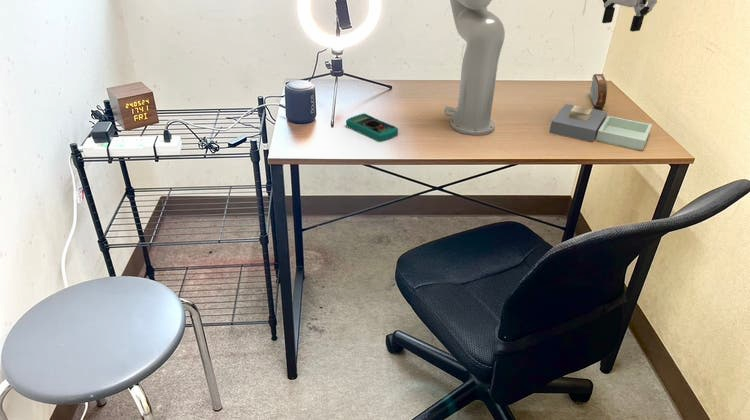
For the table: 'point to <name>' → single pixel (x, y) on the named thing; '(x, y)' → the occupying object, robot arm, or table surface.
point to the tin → (598, 90)
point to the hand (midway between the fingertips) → (620, 26)
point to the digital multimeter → (372, 127)
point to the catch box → (624, 133)
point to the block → (580, 113)
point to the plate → (577, 124)
